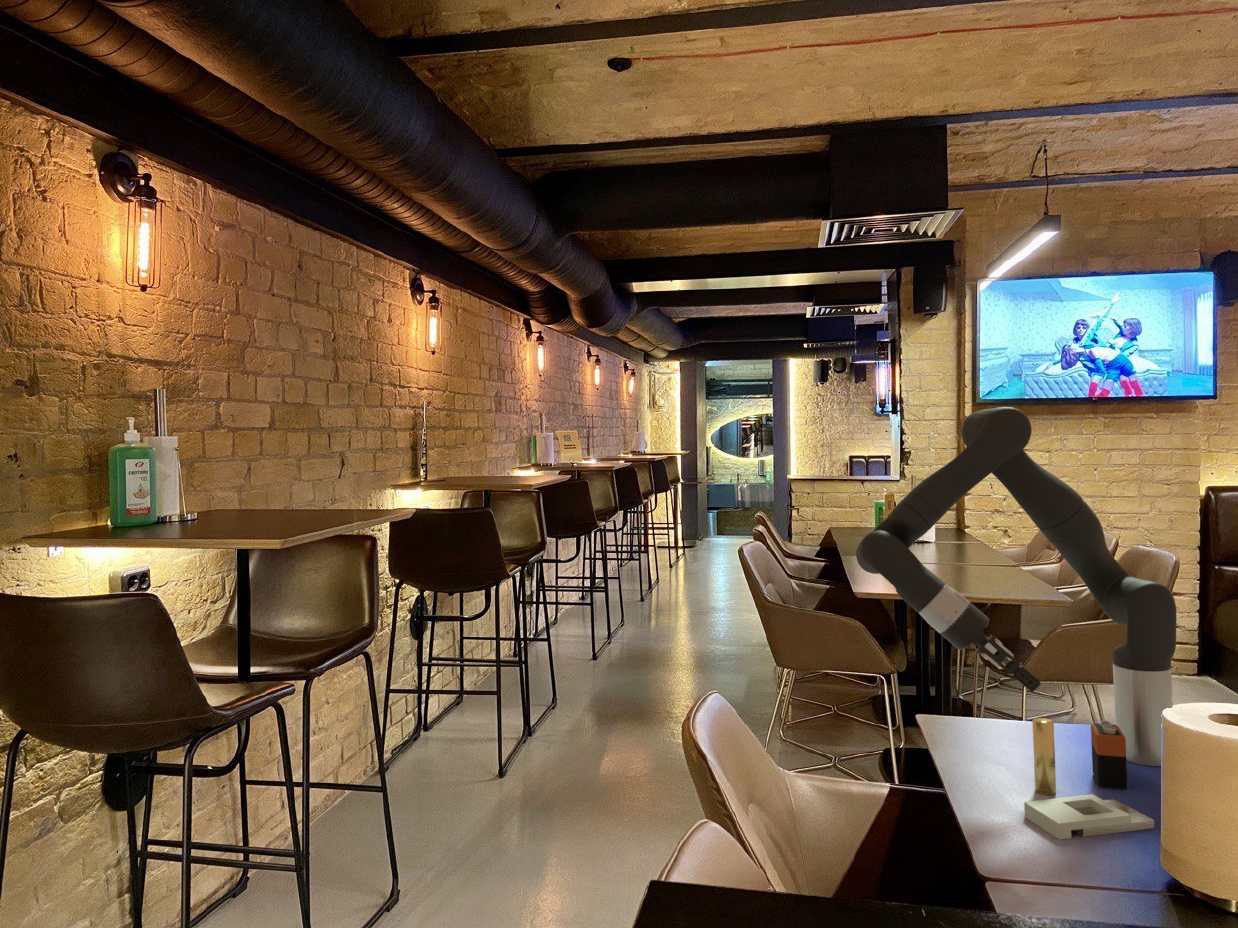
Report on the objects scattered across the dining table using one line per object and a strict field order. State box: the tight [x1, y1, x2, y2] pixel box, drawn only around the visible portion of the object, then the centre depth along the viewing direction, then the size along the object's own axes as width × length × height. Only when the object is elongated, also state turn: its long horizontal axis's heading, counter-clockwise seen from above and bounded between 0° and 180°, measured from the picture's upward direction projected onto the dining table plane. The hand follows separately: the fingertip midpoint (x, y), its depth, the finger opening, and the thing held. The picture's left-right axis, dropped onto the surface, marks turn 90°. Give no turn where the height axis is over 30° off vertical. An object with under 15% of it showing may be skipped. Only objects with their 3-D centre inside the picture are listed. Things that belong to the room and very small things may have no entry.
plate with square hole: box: [1023, 793, 1131, 840], centre depth 127 cm, size 12×8×2 cm, turn 99°
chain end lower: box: [1073, 798, 1155, 837], centre depth 128 cm, size 12×8×1 cm, turn 99°
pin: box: [1031, 717, 1057, 796], centre depth 139 cm, size 3×3×12 cm
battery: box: [1090, 720, 1128, 790], centre depth 142 cm, size 4×7×10 cm, turn 158°
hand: (1031, 683), depth 138 cm, fingers open, 8 cm apart
